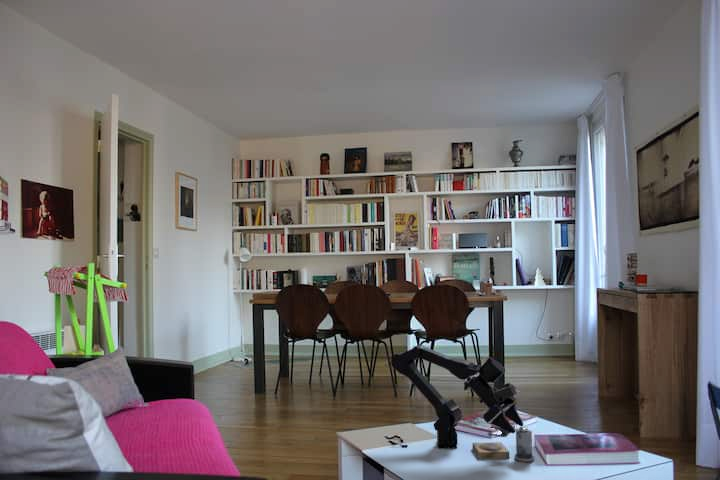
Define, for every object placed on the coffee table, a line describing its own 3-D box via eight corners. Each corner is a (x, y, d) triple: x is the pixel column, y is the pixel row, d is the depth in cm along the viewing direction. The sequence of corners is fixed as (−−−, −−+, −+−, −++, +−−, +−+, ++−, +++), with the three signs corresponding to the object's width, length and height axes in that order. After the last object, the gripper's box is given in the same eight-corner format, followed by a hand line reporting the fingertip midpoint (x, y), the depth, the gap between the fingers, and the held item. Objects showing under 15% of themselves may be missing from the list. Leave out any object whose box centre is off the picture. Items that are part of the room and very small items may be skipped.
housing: (517, 462, 177) (516, 431, 177) (512, 456, 183) (511, 425, 184) (537, 462, 177) (536, 430, 177) (530, 456, 183) (530, 425, 184)
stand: (479, 458, 181) (478, 452, 181) (472, 448, 191) (472, 442, 191) (509, 458, 181) (509, 451, 182) (501, 448, 191) (501, 442, 192)
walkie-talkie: (511, 438, 204) (519, 424, 222) (511, 426, 204) (518, 413, 222) (487, 435, 207) (496, 422, 225) (487, 423, 207) (496, 411, 226)
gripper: (491, 381, 177) (527, 420, 171) (509, 371, 193) (542, 407, 187) (469, 403, 181) (503, 442, 175) (488, 392, 197) (520, 427, 190)
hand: (518, 429), depth 181 cm, fingers open, 9 cm apart
